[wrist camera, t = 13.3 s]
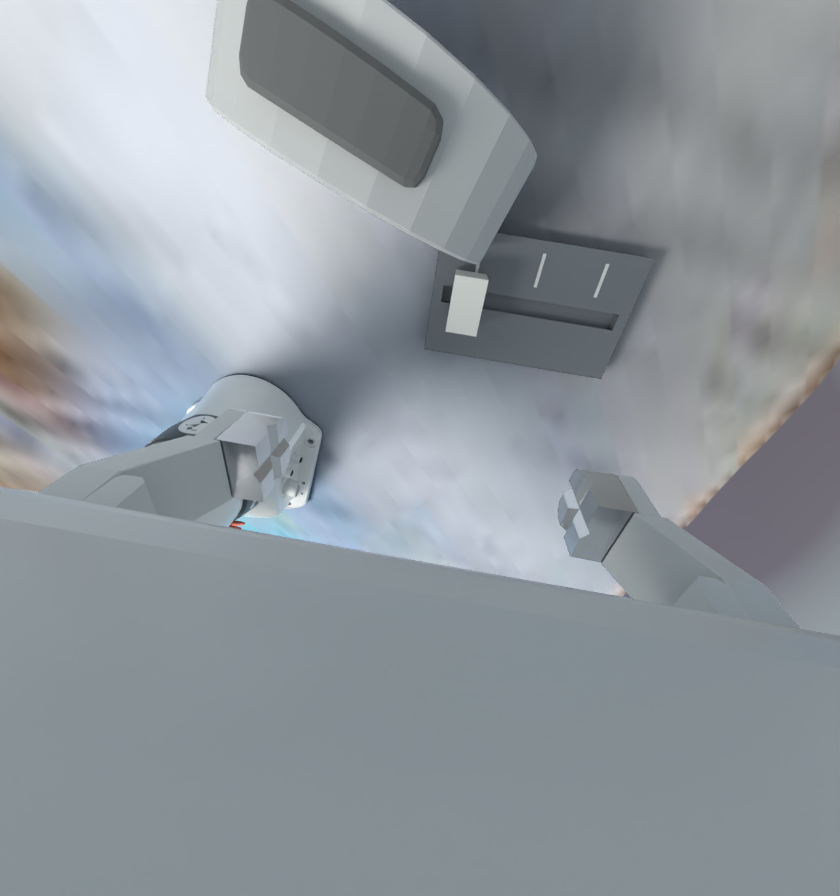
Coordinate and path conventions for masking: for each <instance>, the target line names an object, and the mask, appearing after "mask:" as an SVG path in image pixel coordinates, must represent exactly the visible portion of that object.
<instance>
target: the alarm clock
mask: <svg viewBox="0 0 840 896" xmlns="http://www.w3.org/2000/svg"><path fill="white" fill-rule="evenodd" d="M206 99H207V101H208V103H209V104H210V105H211V107H212V108H213V109H214V110H215V111H216V112H217V113H218V114H219V115H221V116H222V117H223V118H225V119H226V120H227V121H228V122H230V123H231V124H232V125H233V126H235V127H236V128H237V129H238V130H240V131H241V132H243V133H244V134H246V135H247V136H249V137H250V138H251V139H253V140H254V141H256V142H257V143H259V144H260V145H262V146H263V147H265V148H266V149H267V150H269V151H270V152H272V153H273V154H275V155H276V156H278V157H280V158H281V159H283V160H284V161H286V162H287V163H289V164H291V165H292V166H294V167H295V168H297V169H298V170H300V171H302V172H303V173H305V174H306V175H308V176H309V177H311V178H313V179H314V180H316V181H317V182H319V183H321V184H322V185H324V186H326V187H327V188H329V189H331V190H332V191H334V192H336V193H337V194H339V195H341V196H342V197H344V198H346V199H347V200H349V201H351V202H352V203H354V204H356V205H357V206H359V207H361V208H362V209H364V210H366V211H368V212H369V213H371V214H373V215H375V216H377V217H378V218H380V219H382V220H384V221H386V222H387V223H389V224H391V225H393V226H394V227H396V228H398V229H400V230H402V231H403V232H405V233H407V234H409V235H411V236H413V237H415V238H417V239H419V240H421V241H423V242H424V243H426V244H428V245H430V246H432V247H434V248H436V249H438V250H440V251H442V252H444V253H447V254H449V255H451V256H453V257H456V258H458V259H460V260H463V261H466V262H469V263H472V264H478V263H479V262H481V260H482V259H483V257H484V255H485V253H486V251H487V250H488V248H489V246H490V244H491V243H492V241H493V239H494V237H495V235H496V234H497V232H498V230H499V228H500V226H501V225H502V223H503V221H504V219H505V217H506V216H507V214H508V212H509V210H510V209H511V207H512V205H513V203H514V201H515V200H516V198H517V196H518V194H519V192H520V191H521V189H522V187H523V185H524V183H525V182H526V180H527V178H528V176H529V175H530V173H531V171H532V169H533V167H534V166H535V163H536V159H537V153H536V151H535V148H534V146H533V144H532V142H531V140H530V138H529V136H528V135H527V134H526V132H525V131H524V130H523V129H522V127H521V126H520V125H519V123H518V122H517V121H516V119H515V118H514V117H513V115H512V114H511V113H510V111H509V110H508V109H507V108H506V107H505V106H504V105H503V104H502V103H501V102H500V101H499V100H498V99H497V98H496V97H495V96H494V94H493V93H492V92H491V91H490V90H489V89H488V88H487V87H486V86H485V85H484V84H483V83H482V82H481V81H480V80H479V79H478V78H477V77H476V76H475V75H474V74H473V73H472V72H471V71H470V70H469V69H468V68H467V67H465V66H464V65H463V64H462V63H461V62H460V61H459V60H458V59H457V58H456V57H454V56H453V55H452V54H451V53H450V52H449V51H448V50H447V49H446V48H444V47H443V46H442V45H441V44H440V43H439V42H438V41H437V40H436V39H434V38H433V37H432V36H431V35H430V34H429V33H428V32H427V31H425V30H424V29H423V28H422V27H420V26H419V25H418V24H416V23H415V22H414V21H413V20H411V19H410V18H409V17H408V16H406V15H405V14H404V13H403V12H401V11H400V10H399V9H398V8H396V7H395V6H394V5H392V4H391V3H390V2H389V1H387V0H217V5H216V14H215V22H214V31H213V39H212V48H211V56H210V65H209V73H208V82H207V90H206Z"/></svg>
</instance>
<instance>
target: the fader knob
mask: <svg viewBox="0 0 840 896" xmlns="http://www.w3.org/2000/svg"><path fill="white" fill-rule="evenodd" d="M488 281H489V280H488V277H487V274H482V273H476V272H470V271H464V270H458V269H456V273H455V278H454V284H453V290H452V296H451V301H450V307H449V313H448V319H447V324H446V330H445V332H451V333H457V334H463V335H469V336H475V337H476V335H477V330H478V326H479V322H480V317H481V313H482V308H483V304H484V299H485V295H486V290H487V286H488Z"/></svg>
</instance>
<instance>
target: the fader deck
mask: <svg viewBox="0 0 840 896" xmlns="http://www.w3.org/2000/svg"><path fill="white" fill-rule="evenodd" d="M654 260H655V259H653V258H648V257H643V256H637V255H631V254H625V253H619V252H613V251H607V250H601V249H595V248H589V247H583V246H577V245H571V244H565V243H559V242H553V241H547V240H541V239H534V238H528V237H522V236H516V235H510V234H504V233H498V232H497V234H496V235H495V237H494V239H493V241H492V243H491V244H490V246H489V248H488V250H487V251H486V253H485V255H484V257H483V259H482V260H481V262H479V263H478V264H472V263H469V262H466V261H463V260H460V259H458V258H456V257H453V256H451V255H449V254H447V253H444V252H442V251H440V250H439V253H438V259H437V266H436V273H435V280H434V287H433V294H432V301H431V307H430V314H429V321H428V328H427V335H426V342H425V348H424V349H427V350H433V351H439V352H445V353H451V354H457V355H463V356H469V357H474V358H480V359H486V360H492V361H498V362H504V363H510V364H516V365H522V366H527V367H533V368H539V369H545V370H551V371H557V372H563V373H569V374H574V375H580V376H586V377H592V378H598V379H601V378H602V376H603V374H604V371H605V369H606V367H607V365H608V362H609V360H610V358H611V356H612V354H613V351H614V349H615V347H616V345H617V342H618V340H619V338H620V336H621V334H622V331H623V329H624V327H625V325H626V322H627V320H628V318H629V316H630V314H631V311H632V309H633V307H634V305H635V302H636V300H637V298H638V296H639V293H640V291H641V289H642V287H643V285H644V282H645V280H646V278H647V276H648V273H649V271H650V269H651V267H652V265H653V262H654ZM456 269H458V270H464V271H470V272H476V273H482V274H487V277H488V280H489V281H488V286H487V290H486V295H485V299H484V304H483V308H482V313H481V317H480V322H479V326H478V330H477V335H476V337H475V336H469V335H463V334H457V333H451V332H445V330H446V324H447V319H448V313H449V307H450V301H451V296H452V290H453V284H454V278H455V273H456Z"/></svg>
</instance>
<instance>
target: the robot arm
mask: <svg viewBox="0 0 840 896" xmlns="http://www.w3.org/2000/svg"><path fill="white" fill-rule="evenodd" d="M309 439H311V440H312V441H313V442H311V441H310V440H309ZM321 439H322V431H321V430H320V428H319V427H318V426H317V425H315V424H314V423H313V422H311V421H310V420H309V419H307V418H306V417H305V416H304V415H303V414H302V413H301V411H300V410H299V409H298V407H297V406H296V404H295V403H294V402H293V401H292V400H291V398H290V397H289V396H288V395H286V394H285V393H284V392H283V391H282V390H280V389H279V388H278V387H276V386H274V385H273V384H271V383H269V382H267V381H265V380H262V379H260V378H257V377H253V376H248V375H232V376H227V377H224V378H222V379H220V380H218V381H217V382H215V383H214V384H213V385H212V386H211V388H210V389H209V390H208V392H207V393H206V395H205V396H204V397H203V398H202V399H201V401H199V402H197V403H195V404H193V405H192V406H191V407H190V408H189V409H188V410H187V415H186V416H185V417H184V418H183V419H182V420H181V421H179V422H178V423H177V424H175V425H174V426H172V427H170V428H168V429H167V430H166V431H164V432H163V433H162V434H160V435H159V436H158V437H156V438H154V439H153V440H151V441H150V442H149V444H148V445H146V446H145V447H144V448H140V449H137V450H133V451H130V452H126V453H122V454H119V455H115V456H112V457H108V458H104V459H101V460H97V461H94V462H90V463H86V464H83V465H80V466H78V467H77V468H75V469H74V470H72V471H70V472H69V473H67V474H66V475H64V476H63V477H61V478H60V479H58V480H57V481H55V482H53V483H52V484H50V485H49V486H47V487H46V488H44V489H43V490H41V491H39V492H38V493H33V492H28V491H22V490H17V489H11V488H6V487H0V896H840V636H839V635H834V634H828V633H822V632H816V631H811V630H805V629H801V628H800V627H799V626H798V625H797V624H796V622H795V621H794V620H793V619H792V617H791V616H790V615H789V614H788V613H787V611H786V610H785V609H784V608H783V607H782V605H781V604H780V603H779V601H778V600H777V599H776V598H775V596H774V595H773V594H772V593H771V592H770V590H769V589H768V588H767V587H766V586H765V585H763V584H762V583H761V582H759V581H758V580H756V579H755V578H753V577H751V576H750V575H749V574H747V573H746V572H745V571H743V570H742V569H740V568H739V567H737V566H736V565H734V564H733V563H731V562H730V561H728V560H727V559H726V558H724V557H723V556H721V555H720V554H718V553H717V552H715V551H714V550H712V549H711V548H709V547H708V546H707V545H705V544H704V543H702V542H700V541H699V540H698V539H696V538H695V537H693V536H692V535H691V534H689V533H687V532H686V531H685V530H683V529H682V528H680V527H679V526H677V525H676V524H674V523H673V522H672V521H670V520H669V519H667V518H661V516H660V515H659V513H658V512H657V510H656V509H655V507H654V506H653V504H652V503H651V501H650V500H649V498H648V497H647V495H646V493H645V492H644V490H643V489H642V487H641V486H640V484H639V483H638V481H637V480H636V479H635V478H633V477H629V476H622V475H615V474H607V473H600V472H593V471H587V470H580V469H576V470H575V471H574V472H573V473H572V475H571V477H570V479H569V482H570V485H571V487H572V488H570V489H568V490H567V491H565V492H563V494H562V497H561V499H560V501H559V507H558V519H559V522H560V525H561V526H562V527H563V528H564V529H565V530H566V531H567V532H566V534H565V536H564V539H565V542H566V545H567V548H568V552H569V555H570V556H571V557H576V558H581V559H586V560H591V561H596V562H601V563H602V565H603V566H604V568H605V569H606V570H607V571H608V572H609V573H610V574H611V575H612V577H613V578H614V579H615V580H616V581H617V582H618V583H619V584H620V586H621V587H622V588H623V589H624V590H625V591H626V592H627V593H628V595H629V596H630V597H631V598H632V599H630V598H624V597H619V596H613V595H608V594H602V593H597V592H591V591H585V590H580V589H574V588H568V587H563V586H557V585H551V584H546V583H540V582H534V581H529V580H523V579H518V578H512V577H506V576H501V575H495V574H489V573H484V572H478V571H472V570H467V569H461V568H455V567H450V566H444V565H439V564H433V563H427V562H422V561H416V560H411V559H405V558H399V557H394V556H388V555H383V554H377V553H372V552H366V551H360V550H355V549H349V548H343V547H338V546H332V545H326V544H321V543H315V542H309V541H304V540H298V539H293V538H287V537H281V536H276V535H270V534H264V533H259V532H253V531H247V530H242V529H241V528H240V527H237V525H244V524H245V523H244V522H240V521H235V520H236V519H238V518H239V517H241V516H247V517H255V518H269V517H274V516H277V515H279V514H280V513H282V511H283V510H284V509H288V508H297V507H301V506H304V505H305V504H306V503H307V501H308V498H309V494H310V490H311V485H312V480H313V476H314V471H315V467H316V462H317V457H318V453H319V448H320V444H321ZM233 525H235V526H233Z"/></svg>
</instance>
